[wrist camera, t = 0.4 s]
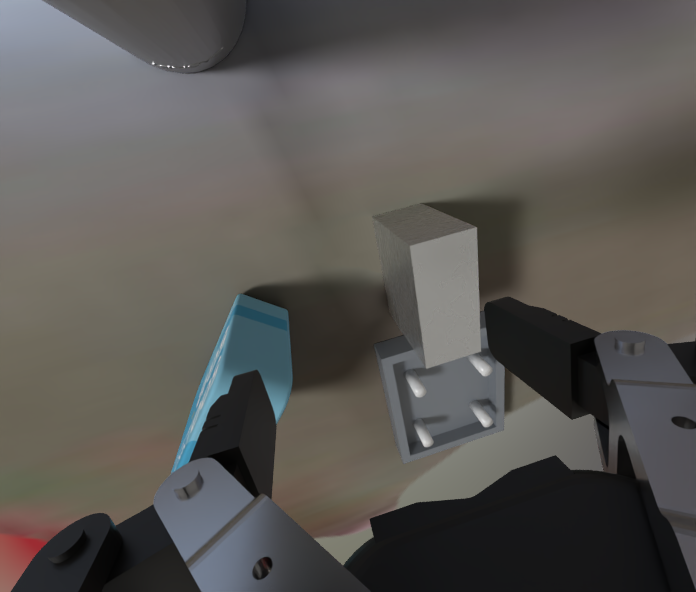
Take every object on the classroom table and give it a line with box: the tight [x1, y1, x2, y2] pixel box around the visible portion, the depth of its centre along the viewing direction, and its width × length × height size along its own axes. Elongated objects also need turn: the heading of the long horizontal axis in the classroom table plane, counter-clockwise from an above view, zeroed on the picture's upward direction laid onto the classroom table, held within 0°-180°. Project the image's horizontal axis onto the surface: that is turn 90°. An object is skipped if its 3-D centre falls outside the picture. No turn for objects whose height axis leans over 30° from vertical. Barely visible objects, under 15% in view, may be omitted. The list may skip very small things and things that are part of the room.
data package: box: [171, 294, 293, 474], centre depth 26 cm, size 12×4×12 cm, turn 152°
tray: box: [374, 311, 505, 464], centre depth 36 cm, size 16×13×4 cm
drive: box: [372, 203, 481, 369], centre depth 27 cm, size 10×4×9 cm, turn 12°
